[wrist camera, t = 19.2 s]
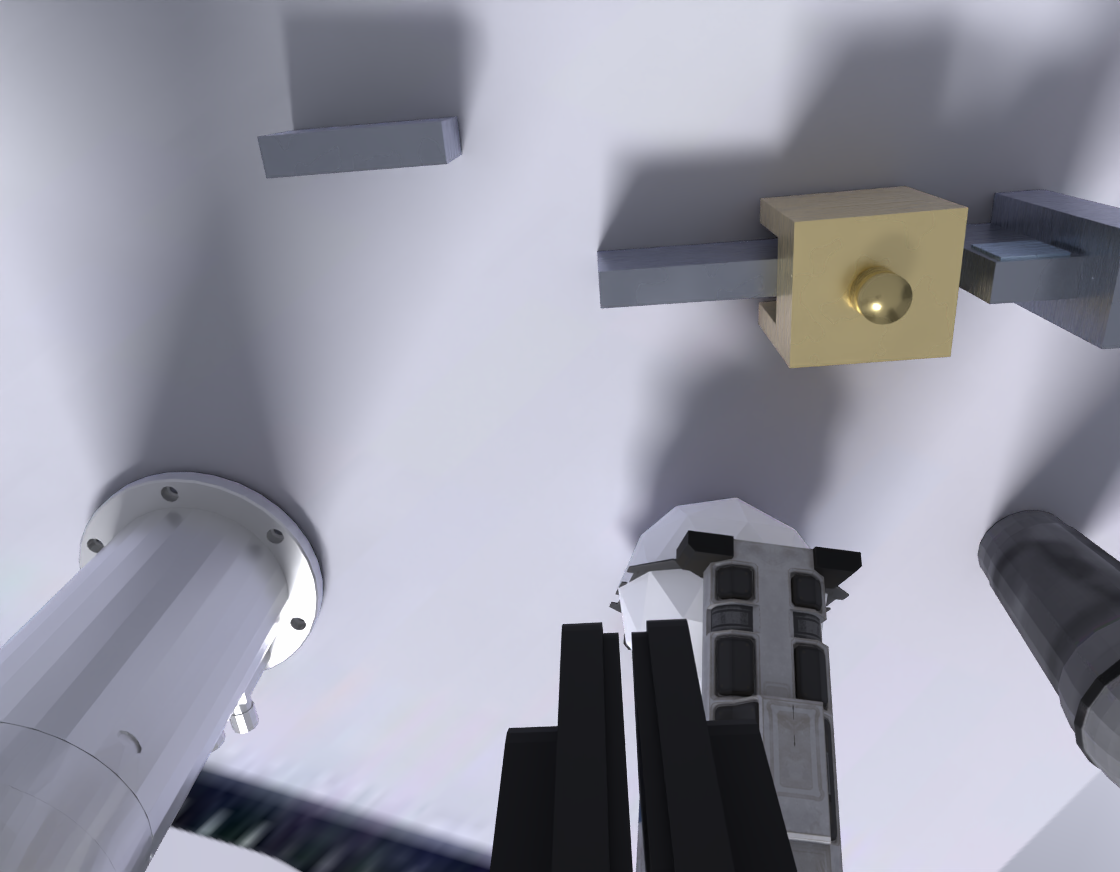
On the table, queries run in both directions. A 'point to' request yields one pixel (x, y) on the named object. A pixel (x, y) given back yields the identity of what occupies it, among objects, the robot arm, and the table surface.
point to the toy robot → (753, 645)
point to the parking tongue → (360, 147)
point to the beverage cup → (1064, 620)
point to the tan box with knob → (863, 276)
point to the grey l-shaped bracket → (987, 272)
